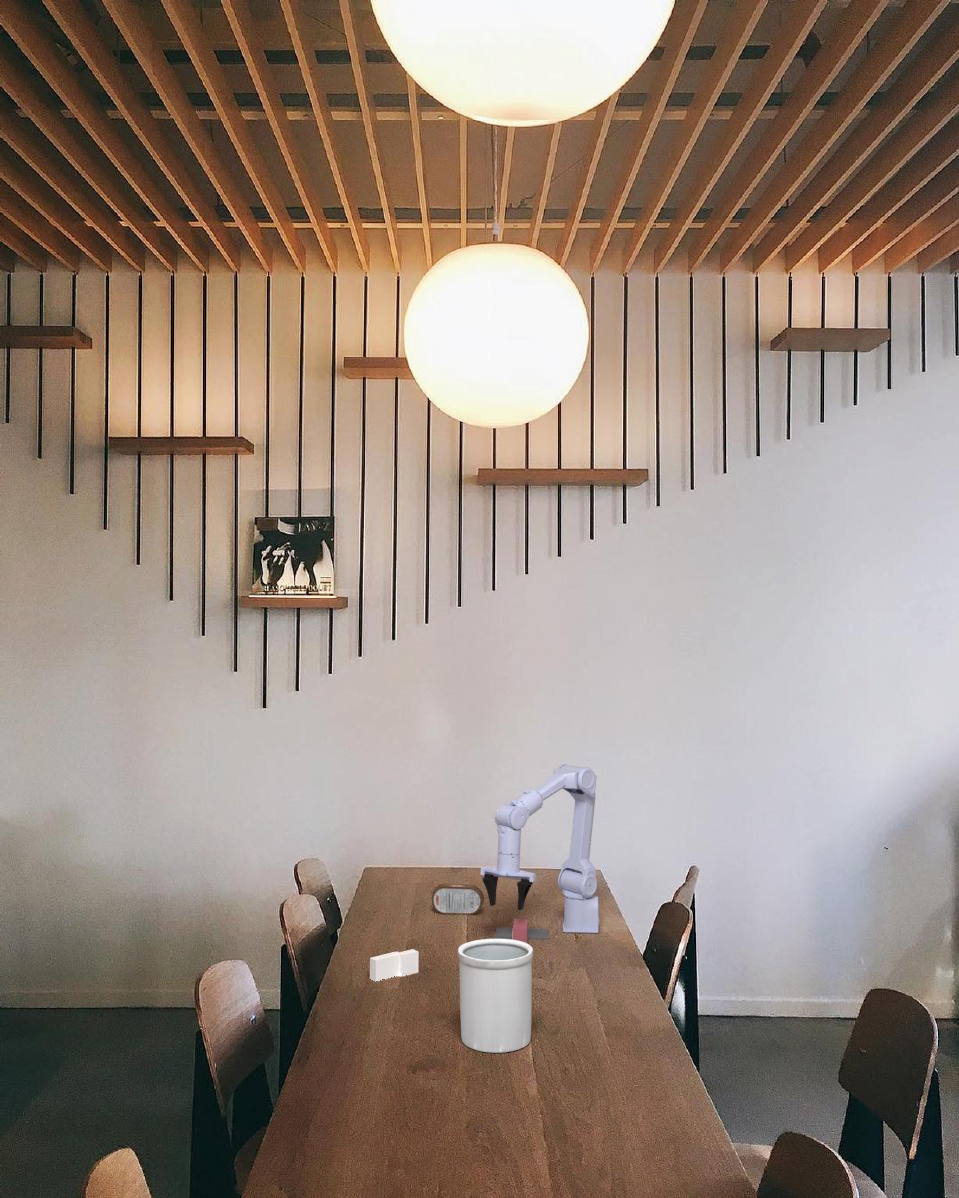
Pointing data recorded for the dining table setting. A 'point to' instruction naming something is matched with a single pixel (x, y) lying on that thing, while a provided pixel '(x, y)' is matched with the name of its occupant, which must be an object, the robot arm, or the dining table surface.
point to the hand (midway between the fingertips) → (506, 907)
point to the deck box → (520, 930)
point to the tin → (457, 899)
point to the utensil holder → (495, 994)
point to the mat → (531, 933)
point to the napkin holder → (394, 965)
